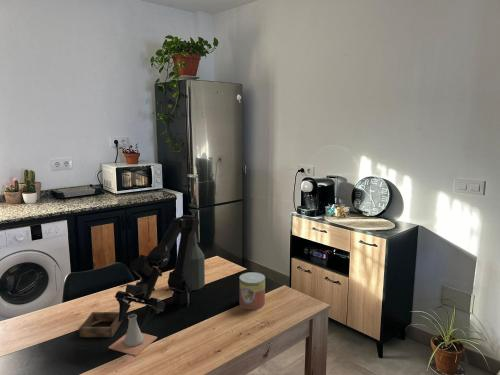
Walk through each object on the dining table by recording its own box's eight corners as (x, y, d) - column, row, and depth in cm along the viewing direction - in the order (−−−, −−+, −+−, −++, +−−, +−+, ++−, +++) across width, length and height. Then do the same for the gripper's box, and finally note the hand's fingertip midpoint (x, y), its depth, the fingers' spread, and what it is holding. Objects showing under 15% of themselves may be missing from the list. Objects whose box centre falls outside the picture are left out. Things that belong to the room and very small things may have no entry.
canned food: (235, 306, 164) (235, 280, 162) (245, 295, 174) (245, 270, 172) (259, 311, 160) (259, 284, 158) (268, 299, 170) (268, 274, 168)
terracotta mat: (131, 331, 144) (131, 330, 144) (157, 337, 140) (157, 336, 140) (108, 348, 133) (108, 347, 133) (136, 356, 129) (136, 355, 129)
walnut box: (122, 320, 152) (122, 312, 152) (112, 337, 140) (111, 328, 140) (93, 320, 152) (92, 312, 152) (79, 336, 140) (79, 328, 140)
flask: (142, 334, 142) (140, 309, 140) (146, 344, 135) (144, 318, 133) (121, 339, 138) (120, 313, 137) (124, 349, 132) (123, 323, 130)
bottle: (202, 290, 179) (201, 229, 173) (182, 290, 179) (180, 229, 173) (205, 281, 189) (204, 223, 183) (186, 281, 189) (184, 223, 184)
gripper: (116, 270, 139) (96, 311, 131) (158, 278, 132) (140, 322, 124) (131, 281, 148) (113, 321, 140) (172, 290, 141) (155, 332, 133)
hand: (129, 324), depth 134 cm, fingers open, 9 cm apart
